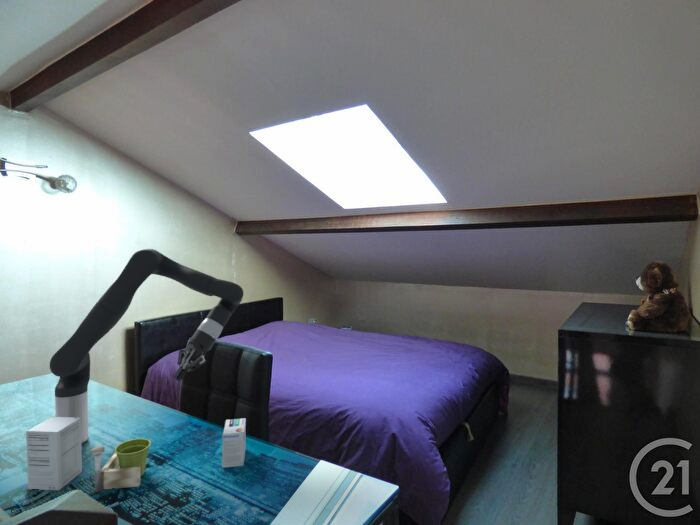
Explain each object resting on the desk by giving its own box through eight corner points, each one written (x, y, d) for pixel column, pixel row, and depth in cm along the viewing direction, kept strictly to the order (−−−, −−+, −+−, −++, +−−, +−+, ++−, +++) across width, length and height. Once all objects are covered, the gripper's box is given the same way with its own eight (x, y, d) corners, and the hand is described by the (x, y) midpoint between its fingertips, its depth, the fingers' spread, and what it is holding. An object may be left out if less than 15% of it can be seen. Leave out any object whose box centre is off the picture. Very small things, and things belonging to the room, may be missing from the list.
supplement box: (53, 470, 118) (52, 415, 117) (83, 471, 118) (82, 416, 117) (26, 490, 108) (24, 430, 108) (58, 491, 108) (57, 431, 107)
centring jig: (80, 484, 111) (80, 443, 111) (117, 468, 120) (117, 430, 119) (104, 503, 103) (103, 459, 103) (142, 484, 111) (141, 444, 111)
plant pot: (126, 465, 121) (126, 438, 121) (156, 465, 121) (156, 438, 121) (107, 483, 112) (107, 453, 111) (140, 483, 112) (140, 454, 111)
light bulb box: (225, 450, 130) (225, 419, 130) (246, 448, 132) (246, 417, 131) (221, 468, 120) (221, 434, 120) (244, 466, 121) (244, 432, 121)
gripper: (188, 324, 138) (157, 369, 130) (212, 333, 130) (180, 381, 122) (202, 334, 143) (173, 378, 135) (225, 343, 135) (196, 390, 128)
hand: (176, 379), depth 129 cm, fingers closed
